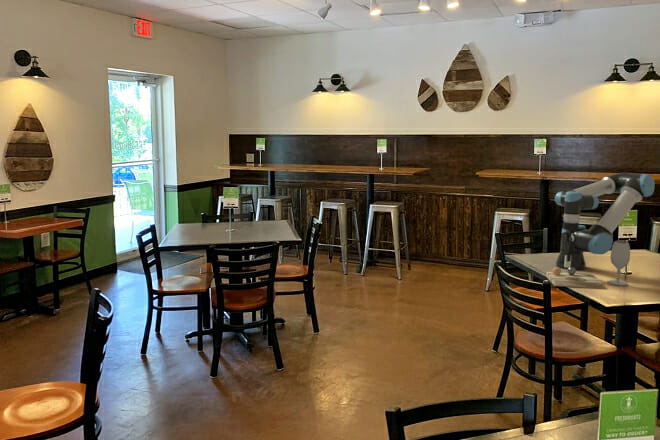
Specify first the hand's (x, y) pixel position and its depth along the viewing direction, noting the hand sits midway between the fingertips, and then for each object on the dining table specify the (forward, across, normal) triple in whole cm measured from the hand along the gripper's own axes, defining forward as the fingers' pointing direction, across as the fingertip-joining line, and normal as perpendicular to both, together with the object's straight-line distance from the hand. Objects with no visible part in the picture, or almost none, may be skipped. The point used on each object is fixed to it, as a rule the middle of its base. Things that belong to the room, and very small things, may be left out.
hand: (567, 267), depth 299 cm
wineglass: (+5, +12, +21) cm, 25 cm away
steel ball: (0, +8, 0) cm, 8 cm away
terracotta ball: (0, +10, -7) cm, 12 cm away
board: (+5, +13, 0) cm, 14 cm away
